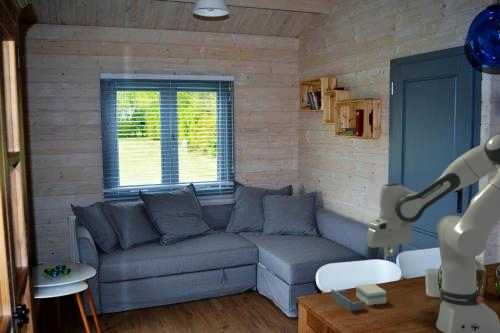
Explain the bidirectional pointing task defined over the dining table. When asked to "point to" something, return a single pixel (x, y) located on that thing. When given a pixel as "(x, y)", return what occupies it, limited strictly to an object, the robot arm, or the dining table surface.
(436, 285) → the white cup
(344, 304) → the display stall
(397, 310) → the dining table surface
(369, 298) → the cream rectangular block
